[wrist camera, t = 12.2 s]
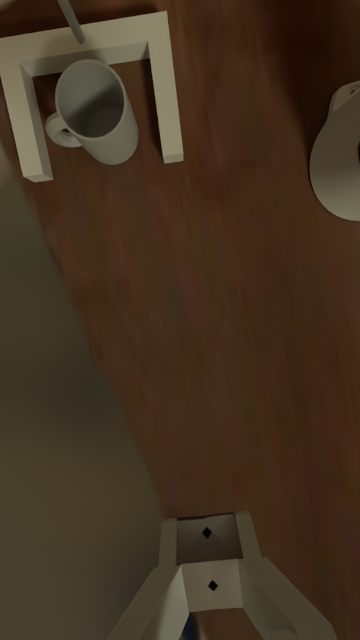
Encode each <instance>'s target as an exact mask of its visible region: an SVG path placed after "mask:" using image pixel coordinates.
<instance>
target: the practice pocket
mask: <svg viewBox="0 0 360 640" xmlns="http://www.w3.org/2000/svg"><path fill="white" fill-rule="evenodd" d="M57 1H58V3H59V5H60V7H61V9H62V11H63V13H64V15H65V17H66V20H67V22H68V24H69V26H70V27H66V28H59V29H53V30H47V31H41V32H35V33H29V34H23V35H17V36H10V37H4V38H0V76H1V80H2V85H3V89H4V94H5V98H6V102H7V107H8V111H9V116H10V120H11V124H12V129H13V133H14V138H15V142H16V146H17V151H18V155H19V160H20V164H21V168H22V173H23V177H25V178H27V179H29V180H31V181H34V182H40V181H47V180H53V176H52V171H51V166H50V161H49V156H48V152H47V147H46V142H45V137H44V132H43V128H42V123H41V118H40V113H39V108H38V103H37V99H36V94H35V89H34V84H33V79H32V77H34V76H40V75H47V74H53V73H59V72H64V71H65V70H66V69H67V68H68V67H69V66H70V65H71V64H73V63H75V62H77V61H79V60H86V59H92V60H98V61H100V62H103V63H105V64H107V65H110V64H116V63H123V62H129V61H135V60H142V59H148V58H150V61H151V69H152V76H153V84H154V92H155V99H156V107H157V115H158V122H159V130H160V137H161V145H162V153H163V159H164V163H171V162H178V161H183V147H182V138H181V130H180V121H179V112H178V104H177V95H176V87H175V78H174V70H173V61H172V53H171V44H170V36H169V27H168V19H167V11H164V12H158V13H151V14H145V15H139V16H133V17H127V18H121V19H115V20H109V21H102V22H96V23H90V24H84V25H79V23H78V20H77V18H76V16H75V14H74V11H73V9H72V7H71V5H70V2H69V0H57Z"/></svg>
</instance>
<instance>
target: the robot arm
mask: <svg viewBox="0 0 360 640" xmlns="http://www.w3.org/2000/svg"><path fill="white" fill-rule="evenodd" d="M351 92H352V93H353V94H351ZM310 179H311V183H312V187H313V190H314V192H315V194H316V196H317V198H318V199H319V201H320V202H321V203H322V205H323V206H324V207H325V208H326V209H328V210H329V211H330V212H332V213H333V214H335V215H337V216H339V217H341V218H344V219H348V220H355V221H360V80H359V81H356V82H353V83H350V84H347V85H344V86H342V87H341V88H339V89H338V90H337V91H336V92H335V93H334V94H333V96H332V99H331V103H330V107H329V112H328V118H327V120H326V122H325V124H324V126H323V128H322V129H321V131H320V133H319V134H318V136H317V138H316V140H315V143H314V146H313V149H312V152H311V157H310ZM239 607H244V610H245V611H246V613H247V614H248V616H249V617H250V619H251V620H252V622H253V623H254V625H255V626H256V628H257V629H258V631H259V632H260V634H261V635H262V637H263V638H264V640H337V638H336V635H335V633H334V630H333V628H332V625H331V624H330V623H329V622H328V621H327V620H326V619H325V617H324V616H323V615H322V614H321V613H320V612H319V611H318V610H317V609H316V608H315V607H314V606H313V605H312V604H311V603H310V602H309V601H308V600H307V599H306V598H305V597H304V596H303V595H302V594H301V593H300V592H299V591H298V590H297V588H296V587H295V586H294V585H293V584H292V583H291V582H290V581H289V580H288V579H287V578H286V577H285V576H284V575H283V574H282V573H281V572H280V571H279V570H278V569H277V568H276V567H275V566H274V565H273V564H272V563H271V562H270V561H269V559H268V558H267V557H261V554H260V550H259V546H258V542H257V538H256V535H255V531H254V527H253V523H252V520H251V516H250V513H249V511H239V512H229V513H221V514H212V515H206V516H194V517H180V518H171V519H163V522H162V528H161V541H160V555H159V567H157V568H154V569H153V570H152V572H151V573H150V575H149V577H148V578H147V579H146V581H145V583H144V584H143V586H142V587H141V589H140V590H139V592H138V593H137V595H136V596H135V598H134V599H133V601H132V602H131V604H130V605H129V607H128V608H127V610H126V612H125V613H124V615H123V616H122V617H121V619H120V621H119V622H118V624H117V625H116V627H115V628H114V630H113V631H112V633H111V634H110V636H109V637H108V639H107V640H179V637H180V635H181V633H182V630H183V628H184V625H185V623H186V621H187V618H188V616H189V612H195V611H202V610H210V609H221V608H239Z"/></svg>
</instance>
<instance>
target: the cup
mask: <svg viewBox="0 0 360 640" xmlns="http://www.w3.org/2000/svg"><path fill="white" fill-rule="evenodd" d="M55 103H56V108H57V112H56V113H54V114H52V115H50V116H49V117H48V119H47V120H46V132H47V134H48V135H49V137H50V138H51V139H52V140H53V141H54V142H55V143H57V144H59V145H61V146H65V147H78V146H83V147H84V148H85V149H86V150H87V151H88V152H89V153H90V154H91V155H92V156H93V157H94V158H95V159H97V160H98V161H100V162H102V163H104V164H109V165H115V164H120V163H122V162H125V161H126V160H127V159H129V158H130V157H131V156H132V154H133V153H134V151H135V150H136V147H137V144H138V136H139V134H138V127H137V123H136V120H135V117H134V114H133V111H132V108H131V105H130V102H129V99H128V96H127V94H126V91H125V88H124V86H123V83H122V81H121V79H120V78H119V76H118V75H117V73H116V72H115V71H114V70H113V69H112V68H111V67H109V66H108V65H107V64H105V63H103V62H100V61H98V60H92V59H86V60H79V61H77V62H75V63H73V64H71V65H70V66H69V67H68V68H67V69H66V70H65V71H64V72H63V73H62V75H61V77H60V78H59V80H58V83H57V87H56V90H55ZM65 128H67V129H68V130H69V132H70V133H68V132H65V131H63V129H65Z"/></svg>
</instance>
